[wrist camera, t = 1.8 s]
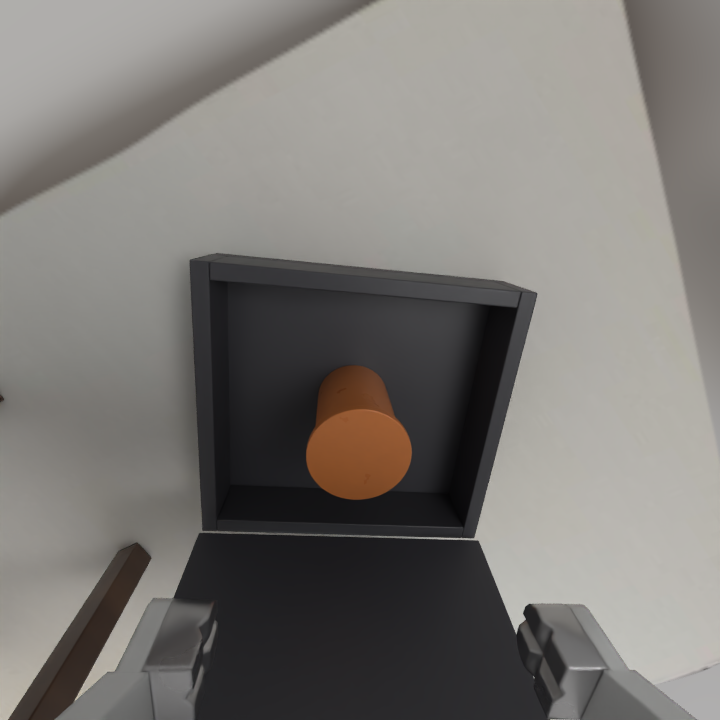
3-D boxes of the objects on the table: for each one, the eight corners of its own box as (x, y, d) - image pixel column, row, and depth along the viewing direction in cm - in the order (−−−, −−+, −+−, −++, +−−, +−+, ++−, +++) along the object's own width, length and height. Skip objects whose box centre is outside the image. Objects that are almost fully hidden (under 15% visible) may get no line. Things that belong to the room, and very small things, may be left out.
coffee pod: (315, 356, 21) (308, 405, 15) (396, 362, 21) (419, 412, 16) (310, 429, 22) (303, 498, 17) (386, 433, 23) (404, 501, 17)
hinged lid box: (215, 253, 20) (188, 259, 16) (503, 281, 21) (538, 293, 17) (221, 486, 24) (202, 531, 21) (455, 495, 26) (474, 538, 22)
